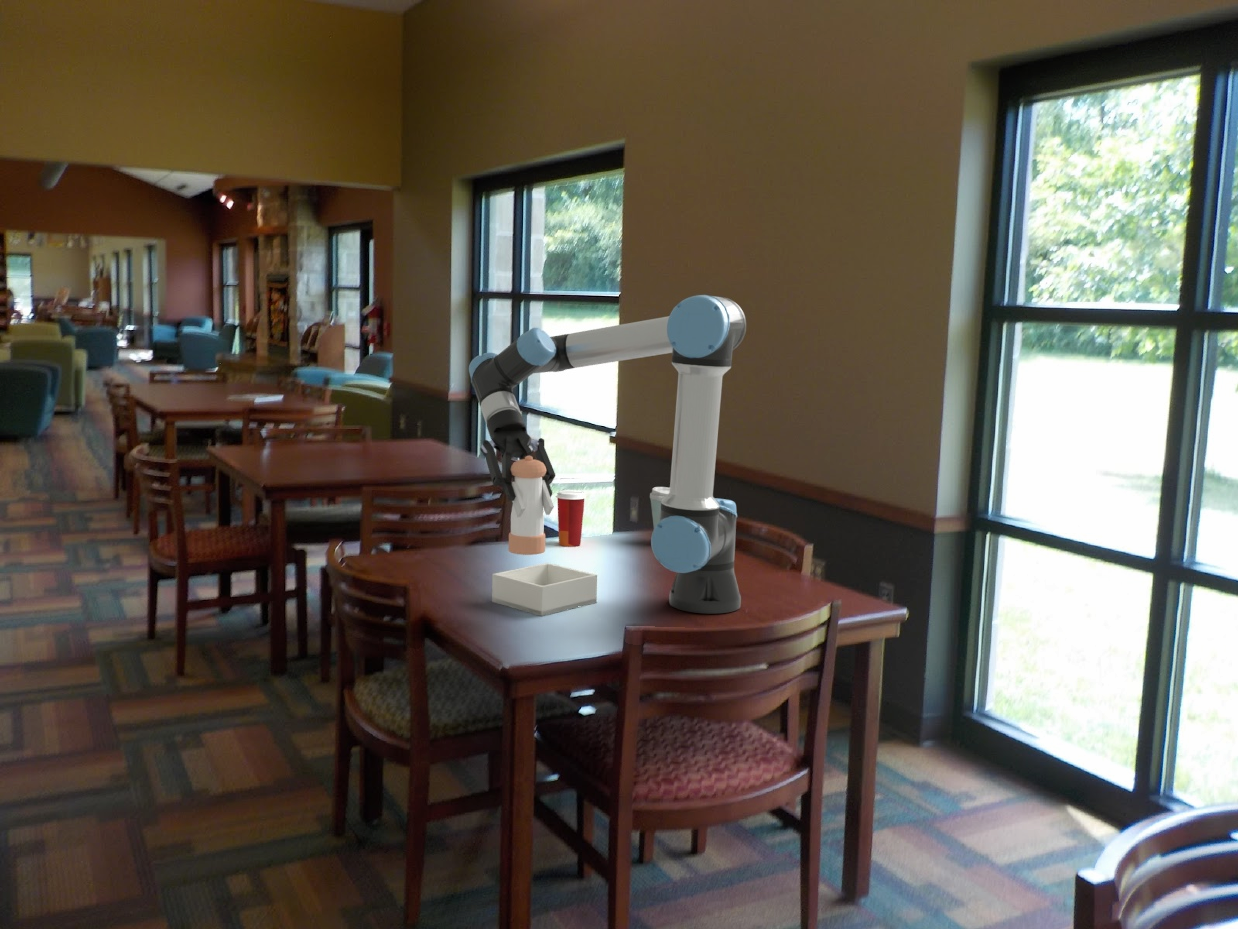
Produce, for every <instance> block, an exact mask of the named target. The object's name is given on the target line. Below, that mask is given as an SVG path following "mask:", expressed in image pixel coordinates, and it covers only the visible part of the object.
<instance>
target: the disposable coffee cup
mask: <svg viewBox="0 0 1238 929" xmlns="http://www.w3.org/2000/svg"><path fill="white" fill-rule="evenodd" d="M669 492H670V487H666V486H655V487H653V488H652V489H651V492H650V493H649V498H650V506H651V516H652V523H653V529H654V528H655V526H656V525H657V524H658V523H659V522H660V510H661V500H662V499H663V498H664V497H666V496H667V495H668V494H669Z"/></svg>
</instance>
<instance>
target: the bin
mask: <svg viewBox="0 0 1238 929" xmlns="http://www.w3.org/2000/svg"><path fill="white" fill-rule="evenodd" d="M491 580H492V584H491V585H492V589H491V595H492V596H491V602H492V603H495V604H498V605H502V606H505V607H509V608H510V609H515V610H519V611H521V612H526V613H530V614H532V613H533V614H532V615H536V616H539V617H545V616H548V615H552V613H553V614H556V613H561V612H565V611H568V610H567V609H569V610H572V608H573V609H576V607H577V608H579V607H578V606H581V607H585V606H589V605H592V603H594V604H597V600H598V599H597V598H598V592H597V591H598V574H595V573H591V572H590V573H589V572H586V571H583V570H579V569H574V568H571V567H570V568H569V567H566V566H561V565H559V564H553V563H551V562H550V563H549V562H545V563H540V564H535V565H529V566H526V567H520V568H516V569H511V570H510V569H509V570H505V571H500V572H496V573H492V579H491ZM564 610H565V611H564Z"/></svg>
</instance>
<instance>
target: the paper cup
mask: <svg viewBox="0 0 1238 929" xmlns="http://www.w3.org/2000/svg"><path fill="white" fill-rule="evenodd" d="M555 498H557V524H558V525H557V526H558V544H559V546H561V547H565V548H567V547H568V548H569V547H570V548H573V547H574V548H575V547H579V546H581V542H582V531H583V530H582V529H583V520H584V510H585V499H586V496H585V492H584V491H582V490H577V489H576V490H575V489H566V490H565V489H564V490H559V491H558V492H557V493H556V496H555Z"/></svg>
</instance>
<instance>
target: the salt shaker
mask: <svg viewBox="0 0 1238 929" xmlns="http://www.w3.org/2000/svg"><path fill="white" fill-rule="evenodd" d="M546 471H547V470H546V467H545V465H544V463H542V462H541V461H539V460H537V459H536V460H534V459H533V457H532V456H526V457H525V459H521V460H520V459H519V460H517V461H514V462H513V463H512V464H511V472H512V476H514V482H516V483H517V486H518V489H519V492H520V495H521V498H522V501H523V504H524V507H525V510H524V512H523V514H522V516H521V517H517V514H516V511H515V508H514V505H513V504H512V506H511V514H510V532H509V533H508V552H509V553H511V554H515V555H521V556H522V555H523V556H533V555H541V554H543V553H545V552H546V533H545V531H544V529H545V528H544V526H545V514H544V513H545V511H544V508H543V504H542V476H544V475H545V474H546Z"/></svg>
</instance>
